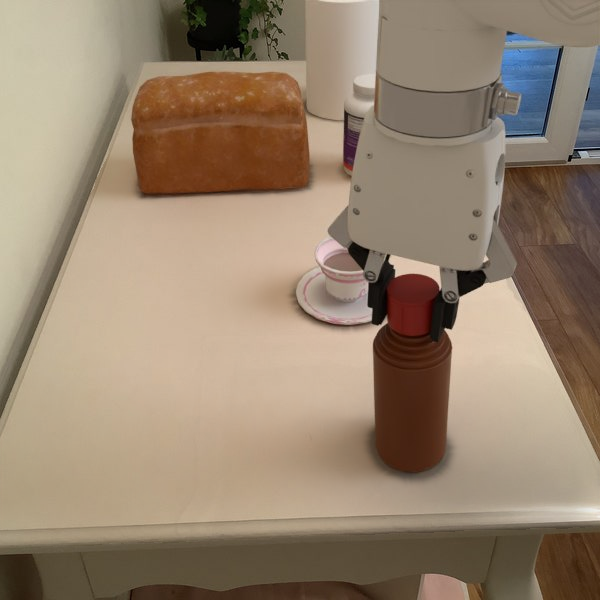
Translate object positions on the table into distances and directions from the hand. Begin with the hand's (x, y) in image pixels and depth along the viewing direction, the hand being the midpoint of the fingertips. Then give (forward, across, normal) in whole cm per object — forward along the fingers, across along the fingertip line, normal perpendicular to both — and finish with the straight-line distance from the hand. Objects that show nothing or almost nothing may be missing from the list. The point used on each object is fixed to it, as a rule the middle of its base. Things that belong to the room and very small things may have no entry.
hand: (410, 321), depth 53 cm
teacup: (+15, +13, -19) cm, 27 cm away
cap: (0, 0, 0) cm, 0 cm away
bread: (+15, +42, -40) cm, 60 cm away
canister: (+15, +36, -73) cm, 83 cm away
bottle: (+14, -1, 0) cm, 14 cm away
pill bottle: (+15, +22, -50) cm, 57 cm away
